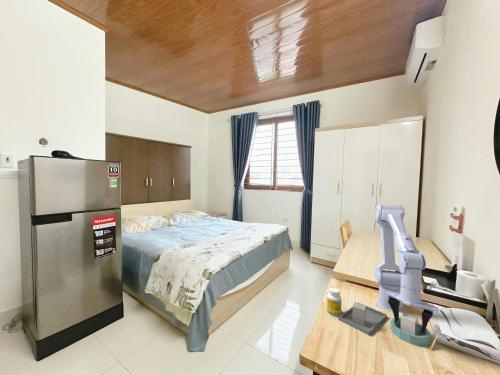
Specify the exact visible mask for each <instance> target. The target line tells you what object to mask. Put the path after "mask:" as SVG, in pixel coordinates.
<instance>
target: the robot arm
mask: <svg viewBox="0 0 500 375" xmlns="http://www.w3.org/2000/svg"><path fill="white" fill-rule="evenodd" d="M405 212H406V211H405V208H404V207H403V205H400V204H397V205H396V204H394V205H393V204H379V203H378V204H377V205H376V206H375V210H374V217H375V218H374V219H375V223H376V224H378V225H379V229H380V243H381V244H380V248H381V261H382V262H380V263H378V264H377V265H375V271H374V278H375V282H376V284H377V285H379V287H378V302H376V303H375V304H374V306H375V307H378V308H381V309H383V310H386V311H389V312H390V313H392V314H393V318H394V319H395V321H396V322H397V321H398V320H399V317H400V310H401V309H402V308H403V307H404V305H406V306H409V307H410V306H411V307H415V308H418V309H420V310H422V312H421V325H422V329H421V331H422V333H425V331H426V328H427V327H428V323H429V321H430V320H431V319H432V317H433V316H434V315H435V316H438V314H439V307H438V306H434V305H432V304H430V303H428V302H427V301H426V302H425V301H424V300H422V276H423V275H422V272H423V271H424V270H425V269H426V266H427V262H426V257H425V255H424V254H423V252H421V251H420V250H419V249H418V248H417V246H416V244H415V242H414V239H413V237H412V235H410V234H407V231H406V227H405V224H404V218H405V214H406V213H405ZM394 234H395V236H394ZM395 246H396V249H397V252H398V256H397V261H398V264H396V254H395ZM401 303H403V304H404V305H403V304H401Z"/></svg>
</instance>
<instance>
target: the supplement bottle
mask: <svg viewBox="0 0 500 375" xmlns="http://www.w3.org/2000/svg"><path fill="white" fill-rule="evenodd" d="M326 298H327V299H326V311H327V314H328V315H330V316H331V317H335V318H339V316H340V315H342V296H341V292H340V290H339V289H338V288H335V287H330V288H328V293H327V296H326Z"/></svg>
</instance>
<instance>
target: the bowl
mask: <svg viewBox="0 0 500 375" xmlns="http://www.w3.org/2000/svg"><path fill="white" fill-rule="evenodd" d="M421 329H422V323H419V322H418V335H417V336H416V335H412V334H409V333H406V332H404V331H402V330H401V316H399V320H398V321H397V322H396V321H395V319H394V317H393V318H392V319H391V320H390V331H391V333H392V334H393V335H394V336H396V337H397V338H398V339H400V340H401V341H404V342H406V343H408V344H410V345H414V346H419V347H423V346H424V347H425V346H429V344H430V342H431V332H430V331H429V330H428V328H427V327H426V331H425V333H422V331H421Z"/></svg>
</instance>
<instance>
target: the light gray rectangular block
mask: <svg viewBox="0 0 500 375" xmlns="http://www.w3.org/2000/svg"><path fill="white" fill-rule="evenodd" d="M359 303H360V302H355V301H354V303H353V306H352V307H353V316H352V323H355V324H358V325H361V326H365V322H366V306H367V304H362V303H361V304H359Z"/></svg>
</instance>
